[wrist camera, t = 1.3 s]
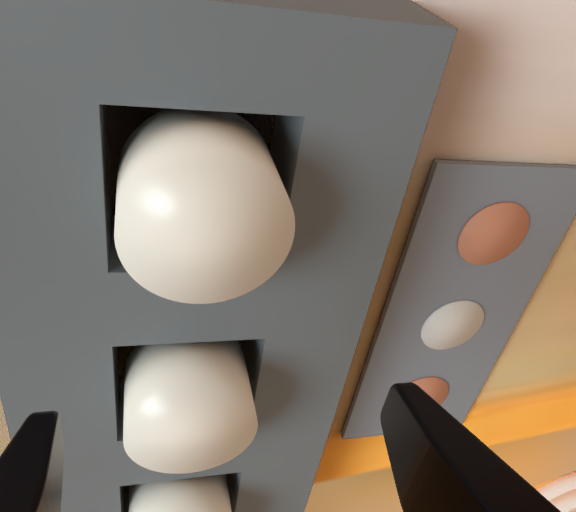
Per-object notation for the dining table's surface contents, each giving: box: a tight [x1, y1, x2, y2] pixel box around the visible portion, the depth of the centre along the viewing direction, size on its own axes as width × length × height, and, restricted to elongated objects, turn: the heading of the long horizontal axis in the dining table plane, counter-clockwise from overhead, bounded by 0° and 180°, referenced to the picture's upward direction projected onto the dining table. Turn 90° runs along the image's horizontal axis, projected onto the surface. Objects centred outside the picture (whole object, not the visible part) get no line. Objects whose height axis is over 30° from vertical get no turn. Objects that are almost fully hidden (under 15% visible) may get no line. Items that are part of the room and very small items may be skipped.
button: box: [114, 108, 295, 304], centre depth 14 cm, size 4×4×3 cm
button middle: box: [123, 340, 258, 474], centre depth 19 cm, size 4×4×3 cm
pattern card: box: [341, 159, 576, 439], centre depth 25 cm, size 16×7×1 cm, turn 171°
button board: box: [0, 0, 457, 512], centre depth 20 cm, size 26×12×3 cm, turn 171°
